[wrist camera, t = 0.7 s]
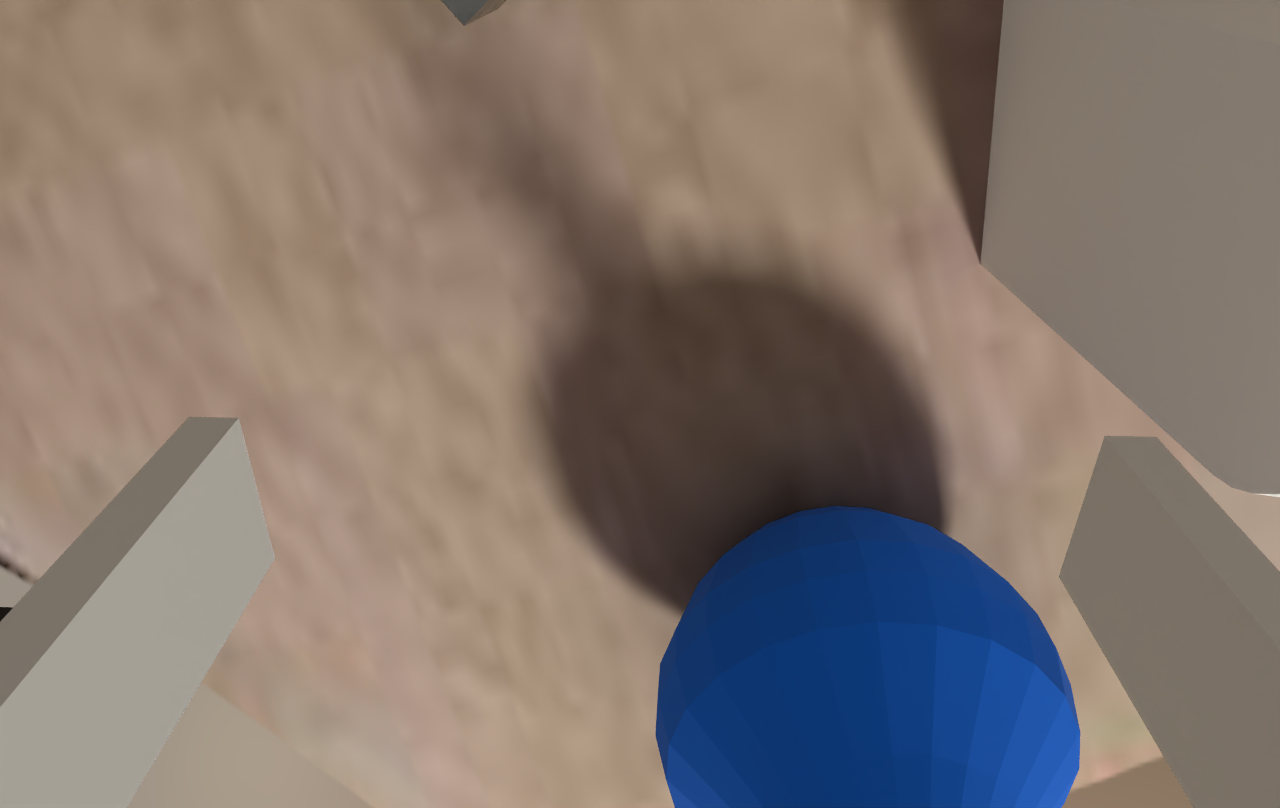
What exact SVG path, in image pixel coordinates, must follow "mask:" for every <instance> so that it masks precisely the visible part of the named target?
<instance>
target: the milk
mask: <svg viewBox="0 0 1280 808" xmlns="http://www.w3.org/2000/svg"><path fill="white" fill-rule="evenodd" d="M980 264H981V265H982V266H983V267H984V268H985V269H986V270H988V271H989V272H990V273H991V274H992V275H993V276H994V277H995V278H996V279H998V280H999V281H1000V282H1001V283H1002V284H1003V285H1004V286H1005V287H1006V288H1007V289H1009V290H1010V291H1011V292H1012V293H1013V294H1014V295H1015V296H1016V297H1017V298H1019V299H1020V300H1021V301H1022V302H1023V303H1024V304H1025V305H1026V306H1027V307H1028V308H1030V309H1031V310H1032V311H1033V312H1034V313H1035V314H1036V315H1037V316H1038V317H1040V318H1041V319H1042V320H1043V321H1044V322H1045V323H1046V324H1047V325H1048V326H1049V327H1051V328H1052V329H1053V330H1054V331H1055V332H1056V333H1057V334H1058V335H1059V336H1061V337H1062V338H1063V339H1064V340H1065V341H1066V342H1067V343H1068V344H1069V345H1070V346H1072V347H1073V348H1074V349H1075V350H1076V351H1077V352H1078V353H1079V354H1080V355H1082V356H1083V357H1084V358H1085V359H1086V360H1087V361H1088V362H1089V363H1090V364H1091V365H1093V366H1094V367H1095V368H1096V369H1097V370H1098V371H1099V372H1100V373H1101V374H1103V375H1104V376H1105V377H1106V378H1107V379H1108V380H1109V381H1110V382H1111V383H1112V384H1114V385H1115V386H1116V387H1117V388H1118V389H1119V390H1120V391H1121V392H1122V393H1123V394H1125V395H1126V396H1127V397H1128V398H1129V399H1130V400H1131V401H1132V402H1133V403H1135V404H1136V405H1137V406H1138V407H1139V408H1140V409H1141V410H1142V411H1143V412H1144V413H1146V414H1147V415H1148V416H1149V417H1150V418H1151V419H1152V420H1153V421H1154V422H1156V423H1157V424H1158V425H1159V426H1160V427H1161V428H1162V429H1163V430H1164V431H1165V432H1167V433H1168V434H1169V435H1170V436H1171V437H1172V438H1173V439H1174V440H1175V441H1177V442H1178V443H1179V444H1180V445H1181V446H1182V447H1183V448H1184V449H1185V450H1186V451H1188V452H1189V453H1190V454H1191V455H1192V456H1193V457H1194V458H1195V459H1196V460H1198V461H1199V462H1200V463H1201V464H1202V465H1203V466H1204V467H1205V468H1206V469H1207V470H1209V471H1210V472H1211V473H1212V474H1213V475H1214V476H1216V477H1217V478H1219V479H1220V480H1222V481H1223V482H1225V483H1226V484H1228V485H1229V486H1231V487H1233V488H1236V489H1239V490H1242V491H1246V492H1249V493H1252V494H1260V495H1268V496H1275V497H1280V0H1004V4H1003V15H1002V26H1001V38H1000V49H999V60H998V71H997V83H996V94H995V105H994V116H993V128H992V139H991V150H990V161H989V173H988V184H987V195H986V206H985V218H984V229H983V240H982V251H981V263H980Z"/></svg>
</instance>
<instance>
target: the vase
mask: <svg viewBox="0 0 1280 808" xmlns="http://www.w3.org/2000/svg"><path fill="white" fill-rule="evenodd" d="M656 739H657V743H658V747H659V752H660V756H661V760H662V764H663V768H664V772H665V777H666V780H667V784H668V787H669V790H670V793H671V796H672V800H673V803H674V806H675V808H1061V807H1062V806H1063V804H1064V802H1065V800H1066V798H1067V796H1068V793H1069V791H1070V789H1071V786H1072V784H1073V782H1074V779H1075V777H1076V775H1077V773H1078V770H1079V756H1080V729H1079V724H1078V719H1077V714H1076V709H1075V704H1074V699H1073V694H1072V689H1071V684H1070V682H1069V679H1068V677H1067V674H1066V672H1065V669H1064V667H1063V664H1062V662H1061V659H1060V657H1059V654H1058V652H1057V649H1056V647H1055V645H1054V643H1053V642H1052V640H1051V638H1050V636H1049V634H1048V633H1047V631H1046V629H1045V627H1044V625H1043V624H1042V622H1041V620H1040V618H1039V616H1038V614H1037V613H1036V612H1035V611H1034V610H1033V609H1032V608H1031V607H1030V605H1029V604H1028V603H1027V602H1026V601H1025V600H1024V599H1023V598H1022V597H1021V596H1020V594H1019V593H1018V592H1017V591H1016V590H1015V589H1014V588H1013V587H1012V586H1011V585H1010V584H1009V582H1008V581H1006V580H1005V579H1004V578H1003V577H1001V576H1000V575H999V574H998V573H996V572H995V571H994V570H993V569H992V568H990V567H989V566H988V565H987V564H985V563H984V562H983V561H982V560H981V559H979V558H978V557H977V556H976V555H974V554H973V553H972V552H971V551H969V550H968V549H967V548H966V547H965V546H963V545H962V544H960V543H959V542H957V541H955V540H954V539H952V538H950V537H948V536H947V535H945V534H943V533H942V532H940V531H938V530H936V529H935V528H933V527H931V526H930V525H927V524H924V523H920V522H917V521H914V520H910V519H907V518H903V517H900V516H896V515H893V514H889V513H886V512H882V511H878V510H875V509H871V508H862V507H844V506H831V507H824V508H818V509H811V510H805V511H799V512H796V513H794V514H791V515H789V516H786V517H783V518H781V519H778V520H775V521H773V522H770V523H768V524H766V525H765V526H763V527H762V528H760V529H759V530H757V531H756V532H754V533H753V534H751V535H750V536H748V537H747V538H745V539H744V540H742V541H741V542H739V543H738V544H737V545H736V546H734V547H733V548H732V549H730V550H729V551H728V552H727V553H725V554H724V555H723V556H722V557H721V558H720V559H719V560H718V561H717V563H716V564H715V565H714V566H713V567H712V568H711V569H710V570H709V572H708V573H707V574H706V575H705V576H704V577H703V578H702V580H701V581H700V582H699V583H698V585H697V587H696V589H695V591H694V593H693V595H692V597H691V599H690V601H689V603H688V605H687V607H686V609H685V611H684V614H683V616H682V618H681V620H680V622H679V624H678V626H677V628H676V630H675V632H674V635H673V637H672V639H671V641H670V643H669V646H668V648H667V650H666V652H665V655H664V657H663V659H662V661H661V663H660V674H659V688H658V703H657V720H656Z"/></svg>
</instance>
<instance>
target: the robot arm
mask: <svg viewBox="0 0 1280 808" xmlns="http://www.w3.org/2000/svg"><path fill="white" fill-rule="evenodd" d="M274 559H275V556H274V552H273V548H272V544H271V541H270V537H269V533H268V529H267V525H266V521H265V517H264V513H263V510H262V506H261V502H260V498H259V494H258V490H257V486H256V483H255V479H254V475H253V471H252V467H251V463H250V459H249V456H248V452H247V448H246V444H245V440H244V436H243V432H242V429H241V425H240V421H239V418H215V417H189V418H188V419H187V420H186V421H185V422H184V423H183V424H182V425H181V426H180V427H179V428H178V430H177V431H176V432H175V433H174V434H173V435H172V436H171V437H170V438H169V439H168V440H167V442H166V443H165V444H164V445H163V446H162V447H161V448H160V449H159V450H158V451H157V452H156V453H155V455H154V456H153V457H152V458H151V459H150V460H149V461H148V462H147V463H146V464H145V465H144V466H143V468H142V469H141V470H140V471H139V472H138V473H137V474H136V475H135V476H134V477H133V478H132V479H131V481H130V482H129V483H128V484H127V485H126V486H125V487H124V488H123V489H122V490H121V491H120V492H119V494H118V495H117V496H116V497H115V498H114V499H113V500H112V501H111V502H110V503H109V504H108V505H107V507H106V508H105V509H104V510H103V511H102V512H101V513H100V514H99V515H98V516H97V517H96V518H95V520H94V521H93V522H92V523H91V524H90V525H89V526H88V527H87V528H86V529H85V530H84V531H83V533H82V534H81V535H80V536H79V537H78V538H77V539H76V540H75V541H74V542H73V543H72V545H71V546H70V547H69V548H68V549H67V550H66V551H65V552H64V553H63V554H62V555H61V556H60V558H59V559H58V560H57V561H56V562H55V563H54V564H53V565H52V566H51V567H50V568H49V569H48V571H47V572H46V573H45V574H44V575H43V576H42V577H41V578H40V579H39V580H38V581H37V582H36V584H35V585H34V586H33V587H32V588H31V589H30V590H29V591H28V592H27V593H26V594H25V596H24V597H23V598H22V599H21V600H20V601H19V602H18V603H17V604H16V605H15V606H14V607H13V608H10V607H0V808H127V807H128V805H129V803H130V802H131V800H132V798H133V796H134V795H135V793H136V791H137V790H138V788H139V786H140V785H141V783H142V781H143V779H144V778H145V776H146V775H147V773H148V771H149V770H150V768H151V766H152V764H153V763H154V761H155V759H156V758H157V756H158V754H159V753H160V751H161V749H162V748H163V746H164V744H165V743H166V741H167V739H168V738H169V736H170V734H171V732H172V731H173V729H174V727H175V726H176V724H177V722H178V720H179V719H180V717H181V716H182V714H183V712H184V711H185V709H186V707H187V706H188V704H189V702H190V700H191V699H192V697H193V695H194V693H195V692H196V690H197V689H198V687H199V685H200V684H201V682H202V680H203V679H204V677H205V675H206V674H207V672H208V670H209V668H210V667H211V665H212V663H213V662H214V660H215V658H216V657H217V655H218V653H219V652H220V650H221V648H222V647H223V645H224V643H225V642H226V640H227V638H228V636H229V635H230V633H231V631H232V630H233V628H234V626H235V625H236V623H237V621H238V620H239V618H240V616H241V615H242V613H243V611H244V610H245V608H246V606H247V604H248V603H249V601H250V599H251V598H252V596H253V594H254V593H255V591H256V589H257V588H258V586H259V584H260V583H261V581H262V579H263V578H264V576H265V574H266V572H267V571H268V569H269V567H270V566H271V564H272V562H273V561H274ZM1059 577H1060V579H1061V581H1062V583H1063V584H1064V586H1065V588H1066V590H1067V591H1068V593H1069V595H1070V596H1071V598H1072V600H1073V602H1074V603H1075V605H1076V607H1077V608H1078V610H1079V612H1080V614H1081V615H1082V617H1083V619H1084V620H1085V622H1086V624H1087V626H1088V627H1089V629H1090V631H1091V632H1092V634H1093V636H1094V638H1095V639H1096V641H1097V643H1098V644H1099V646H1100V648H1101V650H1102V651H1103V653H1104V655H1105V656H1106V658H1107V660H1108V662H1109V663H1110V665H1111V667H1112V668H1113V670H1114V672H1115V674H1116V675H1117V677H1118V679H1119V680H1120V682H1121V684H1122V686H1123V687H1124V689H1125V691H1126V693H1127V694H1128V696H1129V698H1130V699H1131V701H1132V703H1133V705H1134V706H1135V708H1136V710H1137V711H1138V713H1139V715H1140V717H1141V718H1142V720H1143V722H1144V723H1145V725H1146V727H1147V729H1148V730H1149V732H1150V734H1151V735H1152V737H1153V739H1154V741H1155V742H1156V744H1157V746H1158V747H1159V749H1160V751H1161V753H1162V754H1163V756H1164V758H1165V759H1166V761H1167V763H1168V765H1169V766H1170V768H1171V770H1172V771H1173V773H1174V775H1175V777H1176V778H1177V780H1178V782H1179V783H1180V785H1181V787H1182V789H1183V790H1184V792H1185V794H1186V795H1187V797H1188V799H1189V801H1190V802H1191V804H1192V806H1193V808H1280V572H1279V571H1278V569H1277V568H1276V567H1275V566H1274V565H1273V564H1272V563H1271V562H1270V561H1269V560H1268V559H1267V557H1266V556H1265V555H1264V554H1263V553H1262V552H1261V551H1260V550H1259V549H1258V548H1257V546H1256V545H1255V544H1254V543H1253V542H1252V541H1251V540H1250V539H1249V538H1248V537H1247V536H1246V534H1245V533H1244V532H1243V531H1242V530H1241V529H1240V528H1239V527H1238V526H1237V525H1236V524H1235V522H1234V521H1233V520H1232V519H1231V518H1230V517H1229V516H1228V515H1227V514H1226V513H1225V512H1224V510H1223V509H1222V508H1221V507H1220V506H1219V505H1218V504H1217V503H1216V502H1215V501H1214V500H1213V498H1212V497H1211V496H1210V495H1209V494H1208V493H1207V492H1206V491H1205V490H1204V489H1203V488H1202V486H1201V485H1200V484H1199V483H1198V482H1197V481H1196V480H1195V479H1194V478H1193V477H1192V476H1191V474H1190V473H1189V472H1188V471H1187V470H1186V469H1185V468H1184V467H1183V466H1182V465H1181V463H1180V462H1179V461H1178V460H1177V459H1176V458H1175V457H1174V456H1173V455H1172V454H1171V453H1170V451H1169V450H1168V449H1167V448H1166V447H1165V446H1164V445H1163V444H1162V443H1161V442H1160V441H1159V439H1158V438H1157V437H1130V436H1105V437H1104V440H1103V443H1102V446H1101V449H1100V452H1099V455H1098V458H1097V461H1096V465H1095V468H1094V471H1093V474H1092V477H1091V480H1090V483H1089V486H1088V489H1087V492H1086V495H1085V498H1084V501H1083V504H1082V507H1081V510H1080V514H1079V517H1078V520H1077V523H1076V526H1075V529H1074V532H1073V535H1072V538H1071V541H1070V544H1069V547H1068V550H1067V553H1066V556H1065V559H1064V563H1063V566H1062V569H1061V572H1060V575H1059Z"/></svg>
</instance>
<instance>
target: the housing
mask: <svg viewBox="0 0 1280 808" xmlns="http://www.w3.org/2000/svg"><path fill="white" fill-rule="evenodd" d="M441 1H442V2H443V3H444V4H445V5H446V6H447V7H448V8H449V10H450V11H451V12H452V13H453V14H454V15H455V16H456V17H457V19H458V20H459V21H460V22H461V23H462V24H463V25H464V26H465V25H467V24H469V23H471V22H473V21H475V20H477V19H479V18H481V17H483V16H485V15H487V14H489V13H491V12H493V11H494V10H496V9H498V8H499V7H500V6H501V5H502V4H503V3H504V2H505V1H506V0H441Z"/></svg>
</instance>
